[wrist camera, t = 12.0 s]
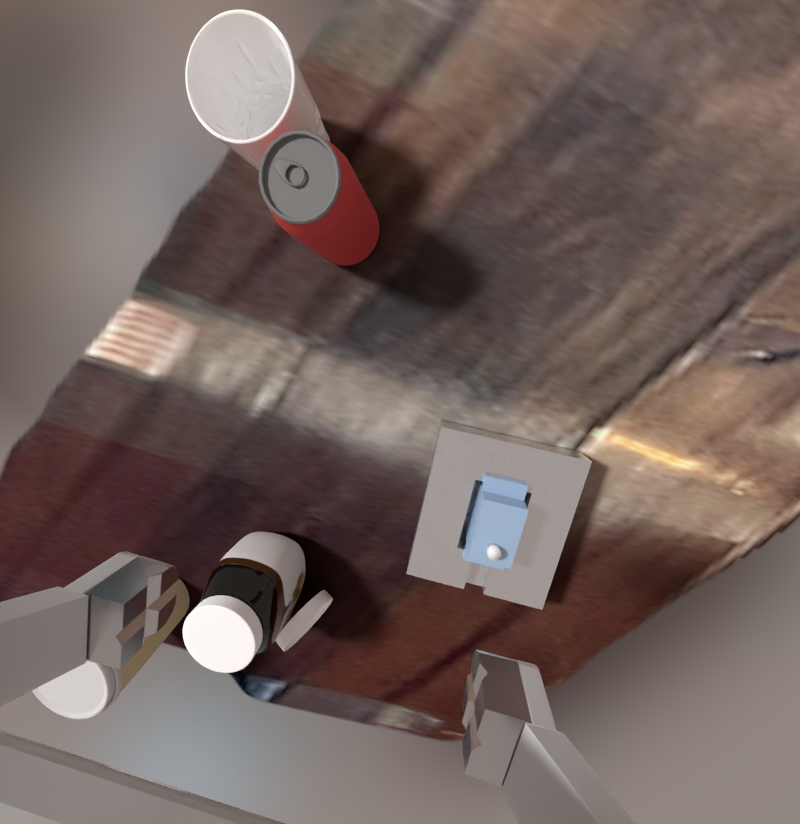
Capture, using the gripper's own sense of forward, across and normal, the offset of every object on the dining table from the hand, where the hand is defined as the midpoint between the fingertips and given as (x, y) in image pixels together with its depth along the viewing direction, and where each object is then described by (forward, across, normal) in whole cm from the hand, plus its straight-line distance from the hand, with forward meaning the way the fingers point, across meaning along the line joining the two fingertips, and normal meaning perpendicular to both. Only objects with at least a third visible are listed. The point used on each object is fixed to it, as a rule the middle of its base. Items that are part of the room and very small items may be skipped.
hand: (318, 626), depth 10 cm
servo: (+28, -10, +8) cm, 31 cm away
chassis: (+29, -10, +8) cm, 32 cm away
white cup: (+29, +16, -22) cm, 40 cm away
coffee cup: (+29, +26, +30) cm, 49 cm away
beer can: (+29, +10, -16) cm, 35 cm away
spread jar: (+29, +10, +22) cm, 38 cm away
